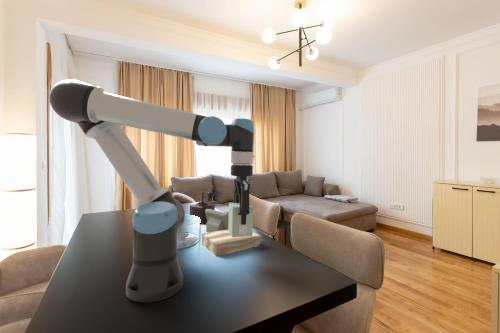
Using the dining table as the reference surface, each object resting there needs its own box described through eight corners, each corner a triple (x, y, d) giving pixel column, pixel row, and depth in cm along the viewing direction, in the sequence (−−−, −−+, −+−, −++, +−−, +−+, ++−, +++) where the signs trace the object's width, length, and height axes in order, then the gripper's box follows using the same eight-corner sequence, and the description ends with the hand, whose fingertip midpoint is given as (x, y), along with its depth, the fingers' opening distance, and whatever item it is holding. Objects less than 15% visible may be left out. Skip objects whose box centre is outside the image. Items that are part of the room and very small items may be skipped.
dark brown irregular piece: (188, 222, 139) (188, 190, 138) (200, 218, 149) (201, 188, 148) (210, 226, 132) (211, 192, 131) (222, 221, 142) (222, 190, 141)
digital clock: (234, 234, 120) (234, 212, 119) (218, 238, 114) (218, 215, 114) (217, 226, 132) (217, 206, 132) (201, 229, 127) (202, 208, 126)
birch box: (260, 247, 104) (260, 235, 104) (216, 257, 93) (216, 244, 93) (242, 237, 117) (242, 226, 116) (201, 245, 105) (201, 233, 105)
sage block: (252, 236, 85) (253, 206, 84) (231, 237, 83) (232, 207, 82) (247, 229, 91) (247, 202, 91) (228, 230, 90) (228, 203, 89)
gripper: (261, 166, 77) (258, 239, 78) (245, 163, 97) (243, 222, 98) (237, 165, 75) (235, 240, 76) (226, 163, 95) (224, 222, 96)
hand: (239, 230), depth 87 cm, fingers closed on sage block, 7 cm apart
